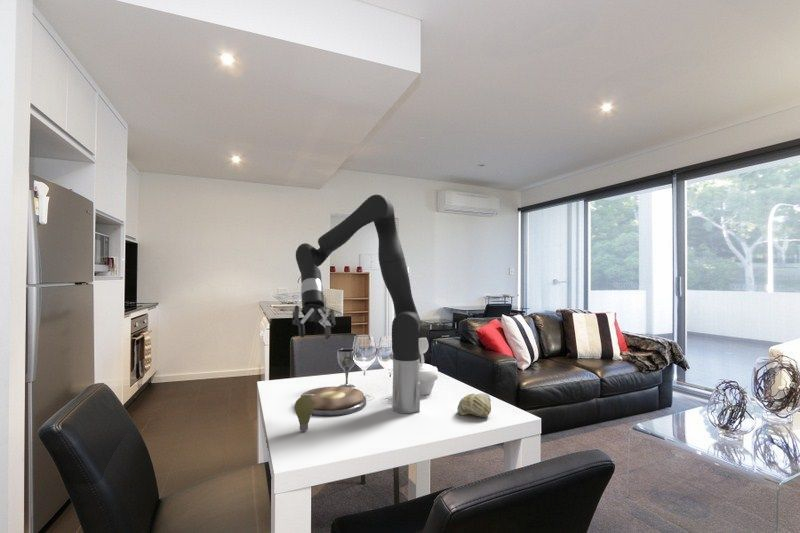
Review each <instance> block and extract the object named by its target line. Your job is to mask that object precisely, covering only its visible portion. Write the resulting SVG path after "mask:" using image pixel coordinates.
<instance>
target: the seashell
mask: <svg viewBox="0 0 800 533" xmlns="http://www.w3.org/2000/svg"><path fill="white" fill-rule="evenodd" d="M491 411H492V400H491V396H490V395H489V393H469V394H467V395H465V396H463V397H462V398H460V401H459V402H458V405H457V414H458V416H465V415H474V416H475V417H476V416H477V417H480V418H486V417H488V416H489V415H490V414H491Z"/></svg>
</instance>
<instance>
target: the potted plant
mask: <svg viewBox="0 0 800 533" xmlns="http://www.w3.org/2000/svg"><path fill="white" fill-rule="evenodd" d="M435 343H436V345H437V344H438V342H437V340H436V341H435ZM432 344H433V346H435V345H434V343H432ZM429 345H430V344H429V341H428V339H427V337H419V351H420V374H419V382H420V396H427V395H429V394H431V393H432V391H433V388H434V386H435V382H436V381H437V380H438V373H439V372H438V371H439V370H438V368H437V366H433V365H431V364H428V363H425V356H424V355H425V354H426V352H427V351H428V349H430V348H429Z"/></svg>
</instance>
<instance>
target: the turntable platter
mask: <svg viewBox="0 0 800 533" xmlns="http://www.w3.org/2000/svg"><path fill="white" fill-rule="evenodd" d="M303 396H307V397H310V398H311V399H312V400H313V402H314V409H316V410H340V409H346V408H350V407H354V406H356V405H358V404H360V403H362V401H363V399H364V396H365V395H364V392H363V391H361V390H359V389H357V388H356V387H355V388H350V387H338V386H324V387H317V388H313V389H310V390H307V391H305V392H303V393H302V394H301V395H300V397H299V398H301V397H303Z"/></svg>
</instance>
